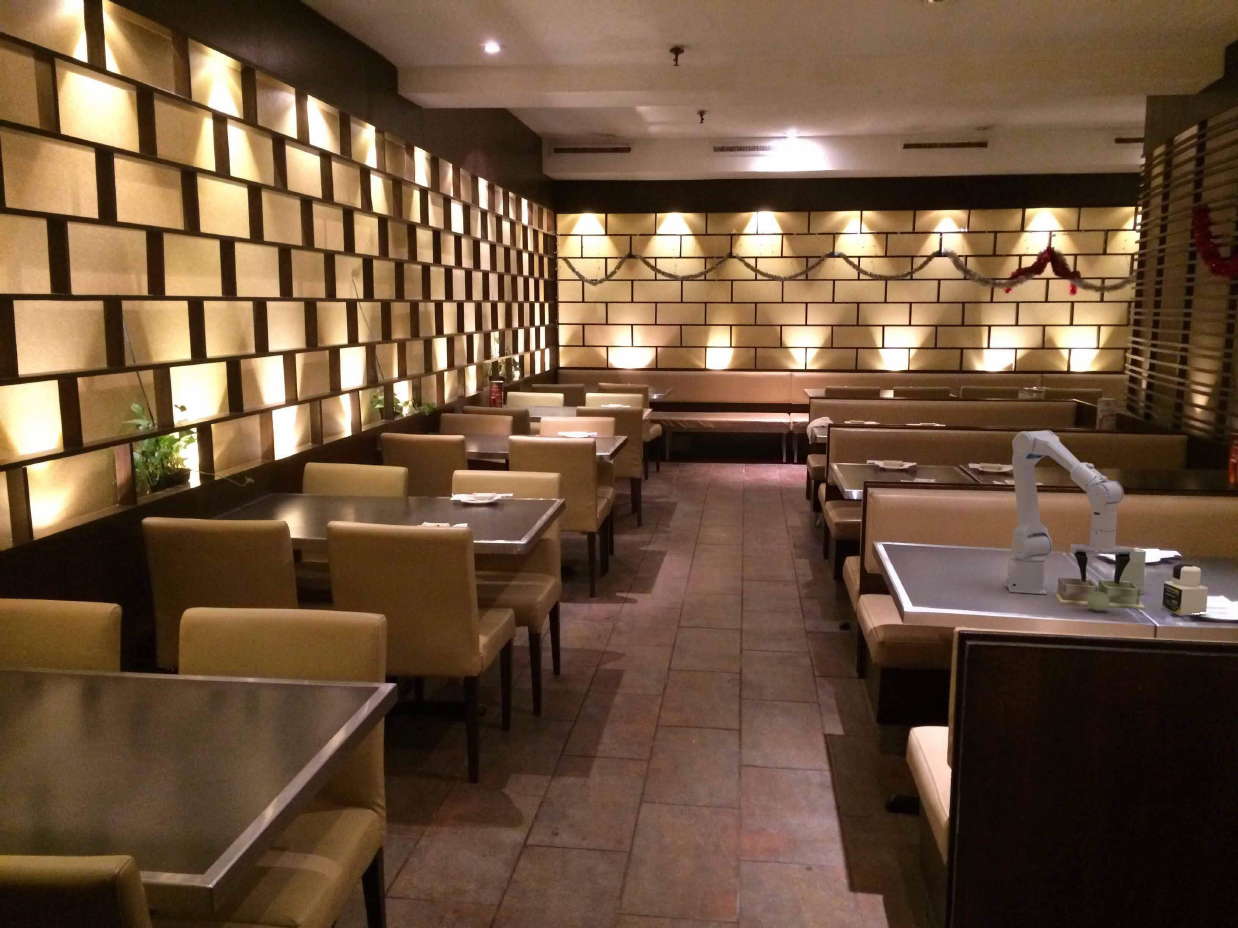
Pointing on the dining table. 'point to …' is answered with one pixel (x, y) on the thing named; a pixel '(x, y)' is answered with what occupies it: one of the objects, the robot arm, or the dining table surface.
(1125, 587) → the sorting board
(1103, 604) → the sage ball
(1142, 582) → the skincare box
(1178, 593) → the medicine bottle
